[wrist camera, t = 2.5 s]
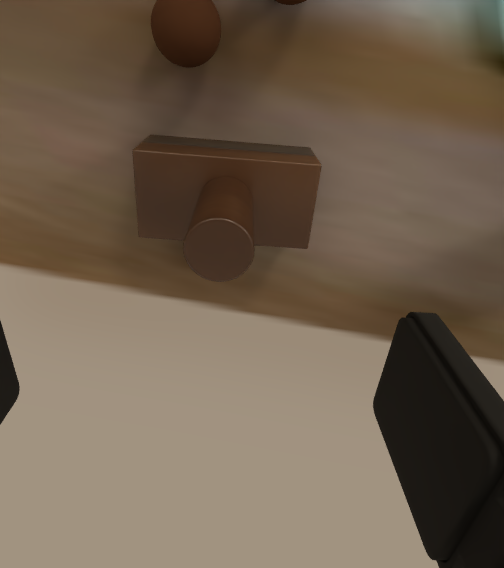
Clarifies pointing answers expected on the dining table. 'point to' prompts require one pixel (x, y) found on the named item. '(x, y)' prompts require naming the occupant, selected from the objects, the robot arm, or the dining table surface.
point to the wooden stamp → (224, 199)
